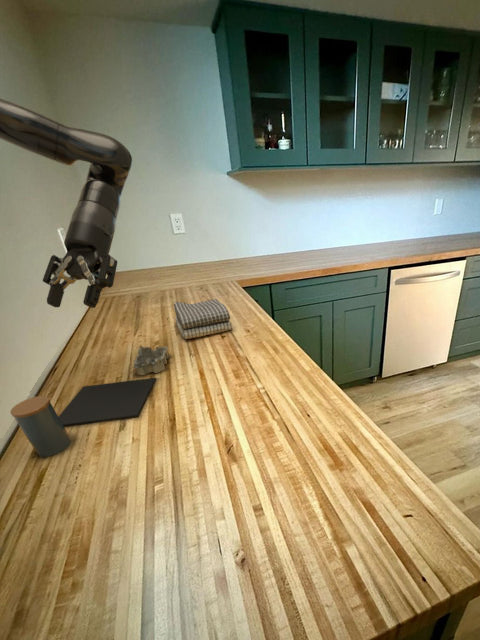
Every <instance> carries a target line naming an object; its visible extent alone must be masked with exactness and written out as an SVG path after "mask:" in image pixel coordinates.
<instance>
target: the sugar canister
mask: <svg viewBox="0 0 480 640" xmlns="http://www.w3.org/2000/svg"><path fill="white" fill-rule="evenodd" d="M10 415H11V417H13V419H15V421H16V423H17V424H18V426H19V428H20V429H21V430H22V432H23V433H24V435H25V437H26V438H27V440H28V441H29V443H30V444H31V446H32V448H33V449H34V451H35V452H36V454H37V455H38V456H39V457H42V458H48V457H52V456H55V455H57V454H59V453H61V452H63V451H64V450H66V449H67V448H68V447H69V446H70V444H71V442H72V439H71V437H70V435H69V433H68V432H67V429H66V428H65V427H64V426H63V424H62V422H61V421H60V419H59V415H58V414H57V412H56V410H55V408H54V406H53V405H52V403H51V400H50V397H48V396H45V395H39V396H33V397H30V398H27V399H24V400H22V401H20V402H18V403H17V404H15V405H14V406H13V407H12V408H11V409H10Z"/></svg>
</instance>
